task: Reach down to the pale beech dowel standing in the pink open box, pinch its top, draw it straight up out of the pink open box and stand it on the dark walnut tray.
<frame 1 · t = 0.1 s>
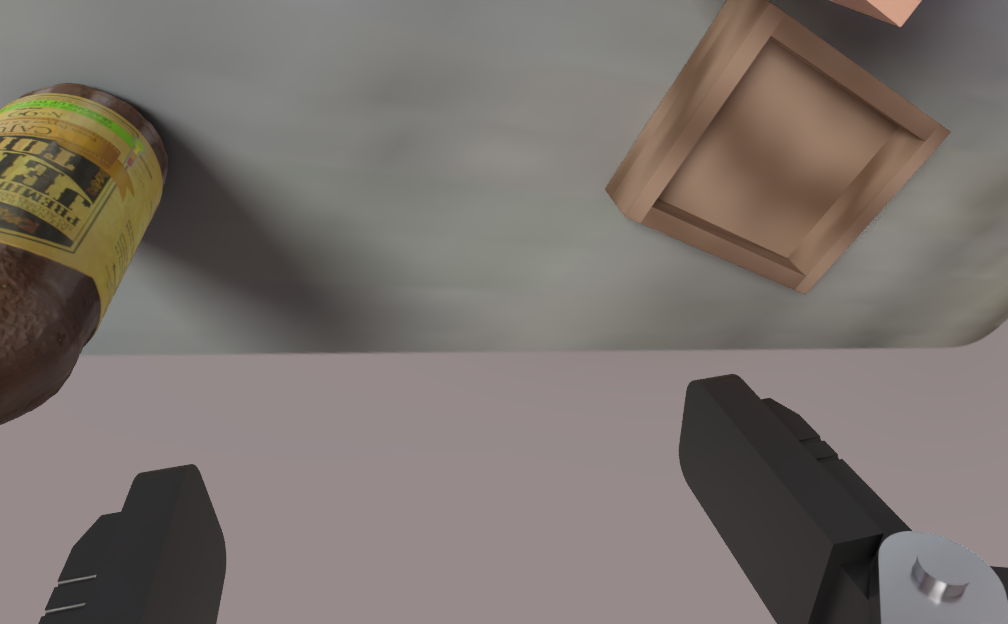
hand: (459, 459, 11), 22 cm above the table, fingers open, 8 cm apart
tray: (760, 149, 35), on the table
sauce bottle: (90, 146, 28), on the table
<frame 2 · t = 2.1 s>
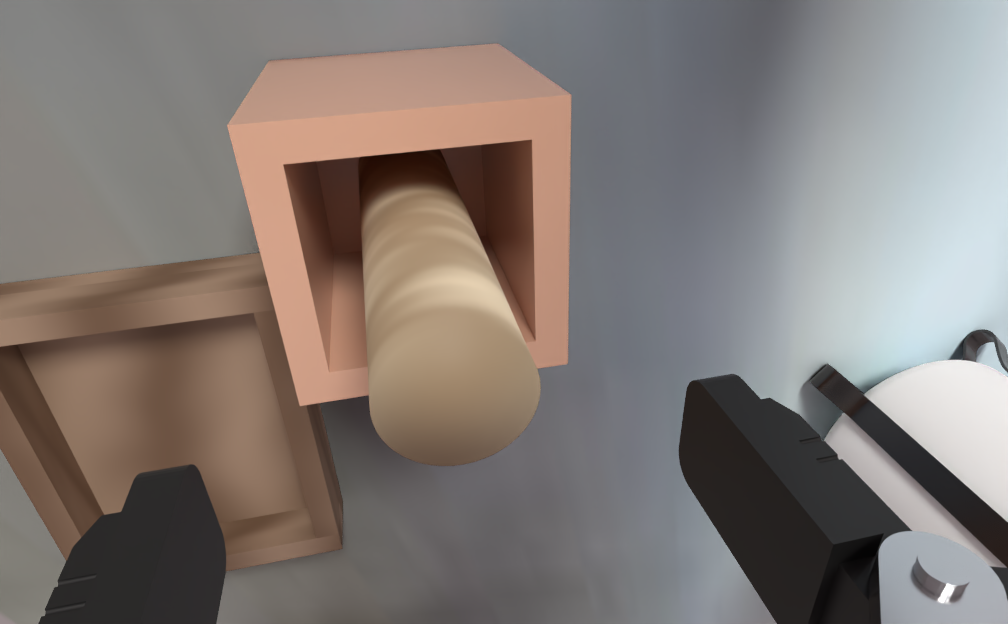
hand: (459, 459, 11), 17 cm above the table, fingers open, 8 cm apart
coffee press: (899, 409, 38), on the table
dowel: (402, 170, 24), point 1 cm above the table, touching pink open box
tray: (187, 411, 28), on the table
pink open box: (400, 162, 25), on the table
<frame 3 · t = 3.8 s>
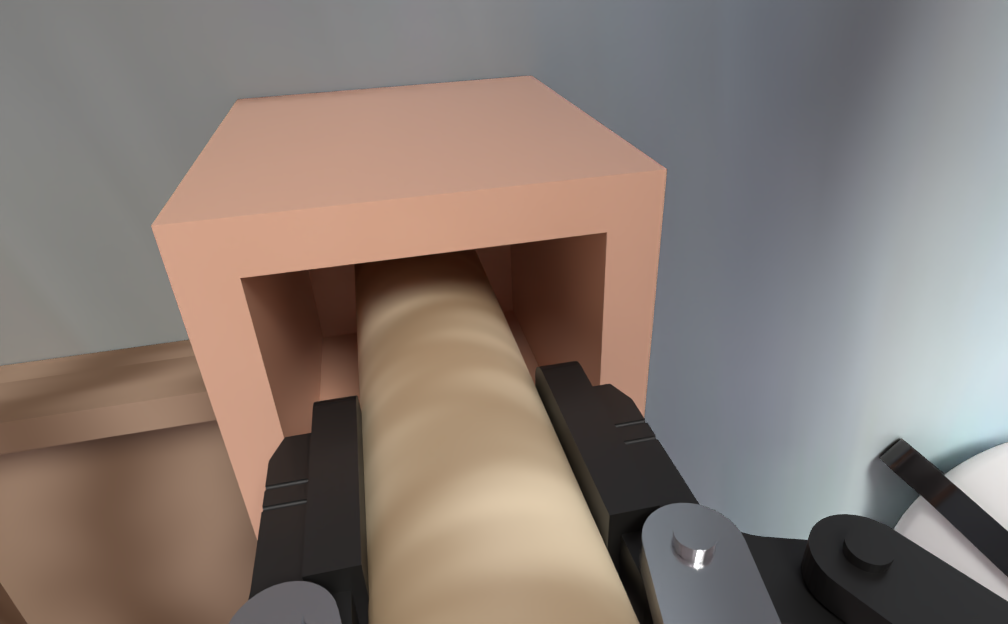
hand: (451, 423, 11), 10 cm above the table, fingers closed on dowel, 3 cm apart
coffee press: (975, 483, 33), on the table
dowel: (409, 235, 19), point 1 cm above the table, touching pink open box, gripper
tray: (143, 519, 23), on the table
pink open box: (406, 223, 20), on the table
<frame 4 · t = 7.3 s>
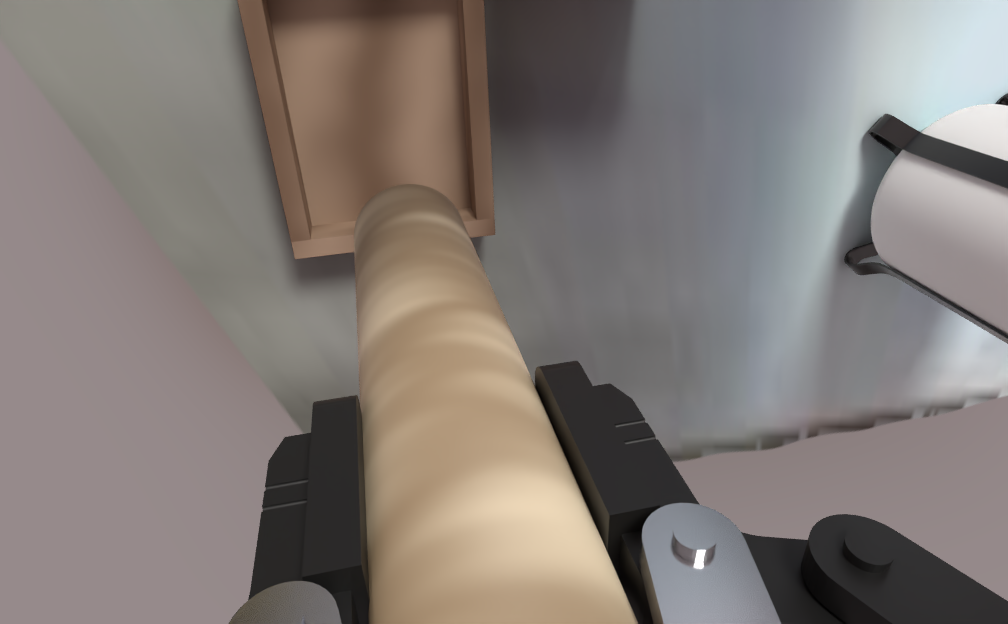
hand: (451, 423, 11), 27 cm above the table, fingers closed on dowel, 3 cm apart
coffee press: (940, 174, 45), on the table
dowel: (410, 237, 19), point 19 cm above the table, touching gripper
tray: (377, 105, 34), on the table
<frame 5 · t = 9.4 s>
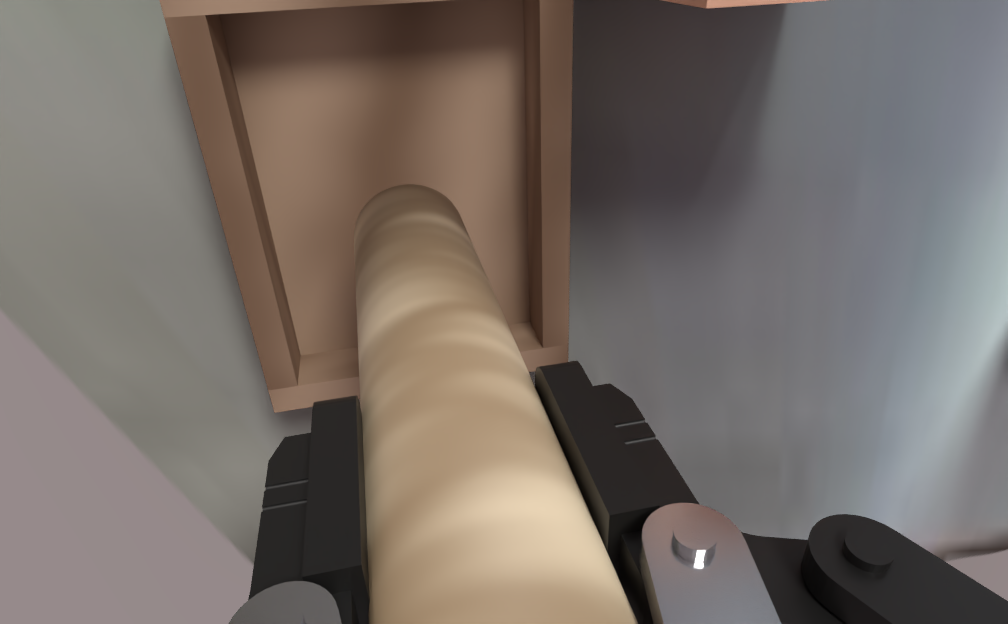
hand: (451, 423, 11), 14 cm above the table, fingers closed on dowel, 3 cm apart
dowel: (410, 237, 19), point 5 cm above the table, touching gripper
tray: (398, 182, 23), on the table
when the fingers open (10 cm above the table, at t = 11.0 s): dowel stays where it is, resting on tray.
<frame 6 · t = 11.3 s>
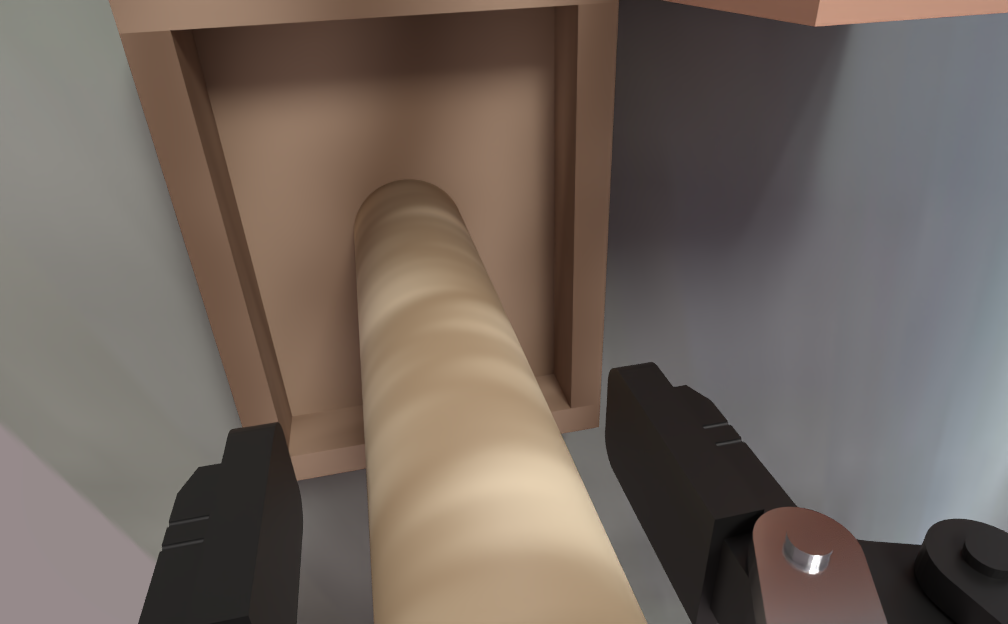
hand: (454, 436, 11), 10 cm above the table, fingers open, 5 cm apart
dowel: (409, 231, 19), point 1 cm above the table, touching tray
tray: (404, 220, 20), on the table
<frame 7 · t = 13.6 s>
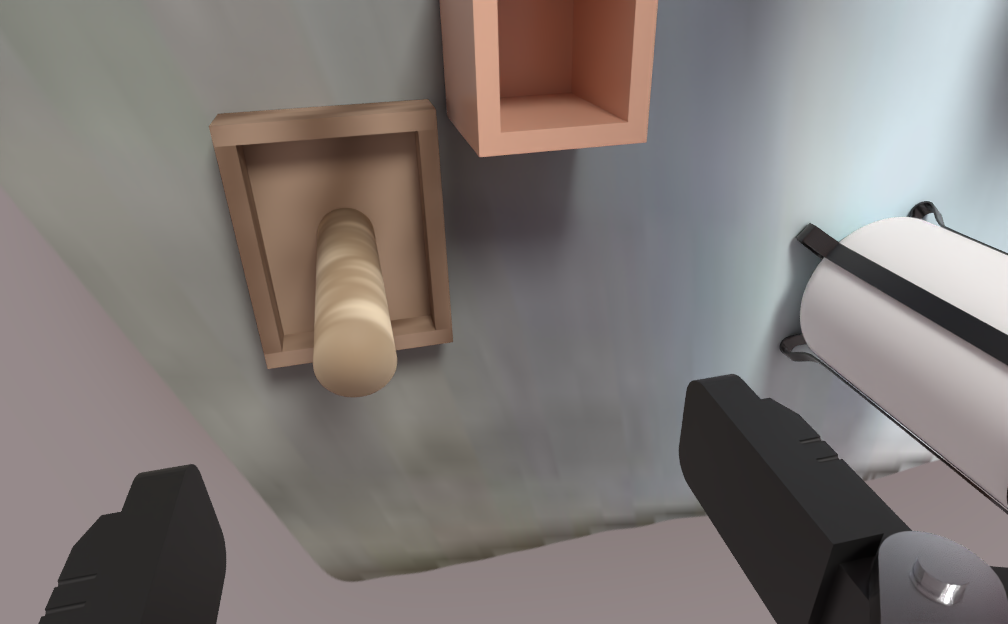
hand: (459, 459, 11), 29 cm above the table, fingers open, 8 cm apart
coffee press: (864, 271, 49), on the table
dowel: (346, 234, 37), point 1 cm above the table, touching tray
tray: (345, 228, 38), on the table
pink open box: (514, 35, 35), on the table
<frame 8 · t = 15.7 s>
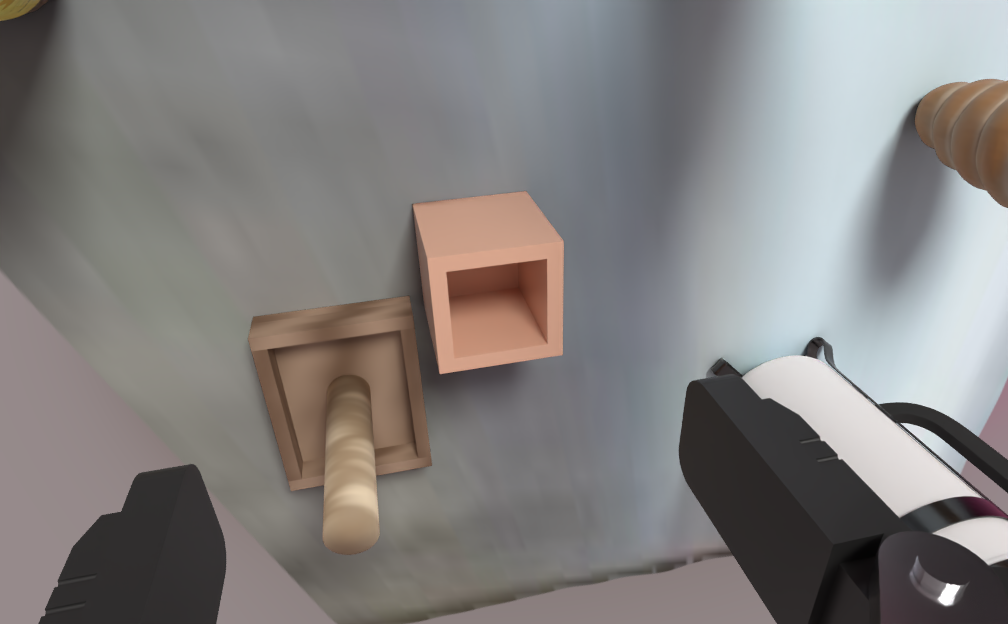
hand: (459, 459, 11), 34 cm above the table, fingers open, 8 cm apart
coffee press: (773, 387, 60), on the table
dowel: (349, 391, 49), point 1 cm above the table, touching tray
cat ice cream: (925, 107, 49), on the table
tray: (348, 384, 50), on the table
pink open box: (473, 250, 46), on the table
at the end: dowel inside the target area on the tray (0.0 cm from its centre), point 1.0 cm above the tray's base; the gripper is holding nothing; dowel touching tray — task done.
